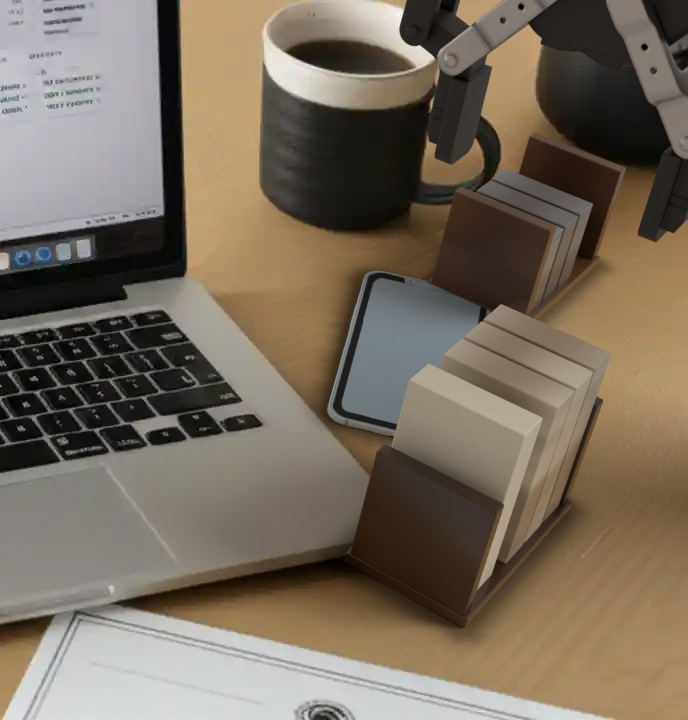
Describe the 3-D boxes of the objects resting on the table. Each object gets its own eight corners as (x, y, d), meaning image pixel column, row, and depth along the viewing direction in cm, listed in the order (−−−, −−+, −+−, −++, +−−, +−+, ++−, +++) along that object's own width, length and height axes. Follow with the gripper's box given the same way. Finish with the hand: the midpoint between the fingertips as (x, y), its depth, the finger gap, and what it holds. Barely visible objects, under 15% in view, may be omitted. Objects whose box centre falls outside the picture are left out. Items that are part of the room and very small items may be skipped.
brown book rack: (569, 509, 80) (627, 348, 75) (464, 628, 73) (519, 459, 67) (455, 452, 83) (502, 293, 78) (342, 561, 76) (386, 393, 70)
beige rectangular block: (491, 575, 75) (543, 417, 70) (473, 595, 74) (525, 436, 69) (385, 518, 78) (428, 362, 72) (366, 536, 76) (408, 379, 71)
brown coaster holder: (597, 265, 100) (629, 168, 96) (523, 333, 93) (554, 232, 89) (504, 225, 103) (531, 130, 99) (425, 289, 96) (451, 189, 92)
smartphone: (324, 415, 84) (365, 267, 96) (321, 427, 85) (363, 279, 97) (469, 450, 83) (493, 296, 95) (465, 463, 84) (490, 308, 95)
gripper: (915, -198, 55) (760, 224, 64) (520, -291, 62) (431, 103, 71) (849, -150, 50) (691, 300, 59) (427, -257, 57) (344, 163, 66)
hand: (549, 192), depth 65 cm, fingers open, 8 cm apart
